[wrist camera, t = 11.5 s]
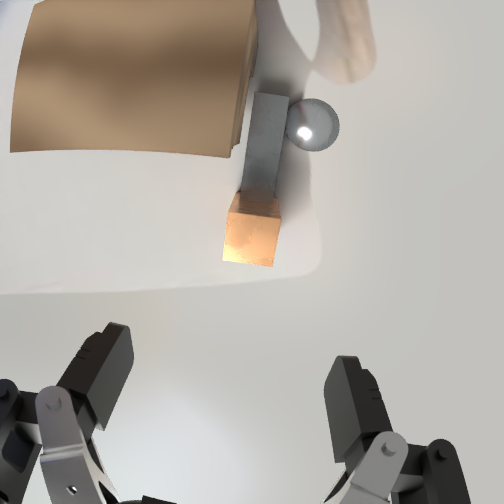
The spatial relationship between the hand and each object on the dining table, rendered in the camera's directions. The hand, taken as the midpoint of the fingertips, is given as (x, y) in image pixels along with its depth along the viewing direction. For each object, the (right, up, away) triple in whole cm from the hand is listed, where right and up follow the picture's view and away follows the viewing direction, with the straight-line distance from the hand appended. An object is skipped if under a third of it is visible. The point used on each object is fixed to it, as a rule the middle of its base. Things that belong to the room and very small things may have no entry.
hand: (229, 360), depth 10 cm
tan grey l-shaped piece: (+2, +12, +16) cm, 21 cm away
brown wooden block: (-6, +20, +13) cm, 25 cm away
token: (+6, +16, +15) cm, 23 cm away
